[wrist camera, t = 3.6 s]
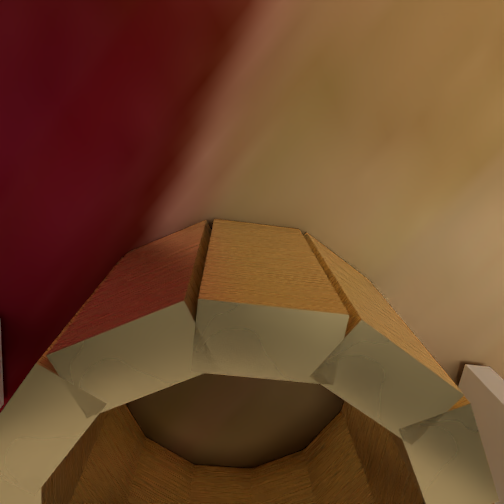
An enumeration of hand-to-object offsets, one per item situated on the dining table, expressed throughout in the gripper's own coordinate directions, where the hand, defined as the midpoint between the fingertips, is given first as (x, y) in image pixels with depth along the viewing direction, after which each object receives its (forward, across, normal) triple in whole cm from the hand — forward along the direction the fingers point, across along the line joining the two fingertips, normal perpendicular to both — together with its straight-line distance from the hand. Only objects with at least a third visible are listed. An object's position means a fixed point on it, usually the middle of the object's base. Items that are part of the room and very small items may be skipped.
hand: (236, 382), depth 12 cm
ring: (0, 0, 0) cm, 0 cm away
